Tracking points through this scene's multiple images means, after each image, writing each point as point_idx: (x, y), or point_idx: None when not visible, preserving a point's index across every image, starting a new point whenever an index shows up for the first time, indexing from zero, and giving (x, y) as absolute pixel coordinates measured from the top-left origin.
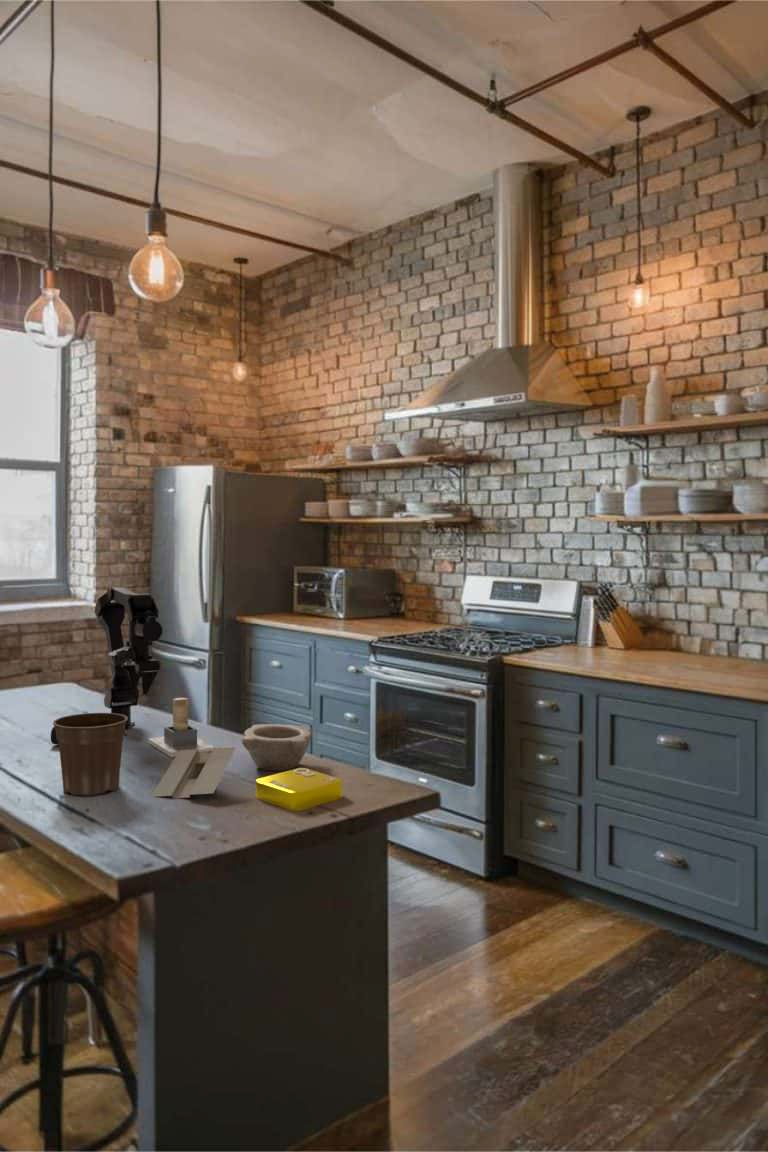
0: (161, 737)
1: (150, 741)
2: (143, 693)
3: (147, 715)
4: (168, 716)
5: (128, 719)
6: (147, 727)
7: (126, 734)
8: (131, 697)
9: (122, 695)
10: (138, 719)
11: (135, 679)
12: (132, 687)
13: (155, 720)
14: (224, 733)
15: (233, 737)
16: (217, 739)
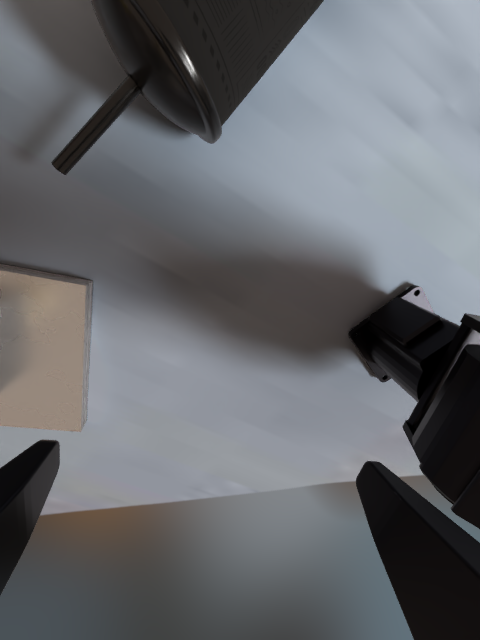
0: (76, 336)
1: (52, 277)
2: (27, 449)
3: None
4: None
5: (380, 361)
6: (314, 388)
7: (65, 172)
8: (426, 431)
9: (464, 398)
10: None
11: (426, 590)
12: (378, 474)
13: (367, 439)
14: (78, 505)
15: None
16: None
